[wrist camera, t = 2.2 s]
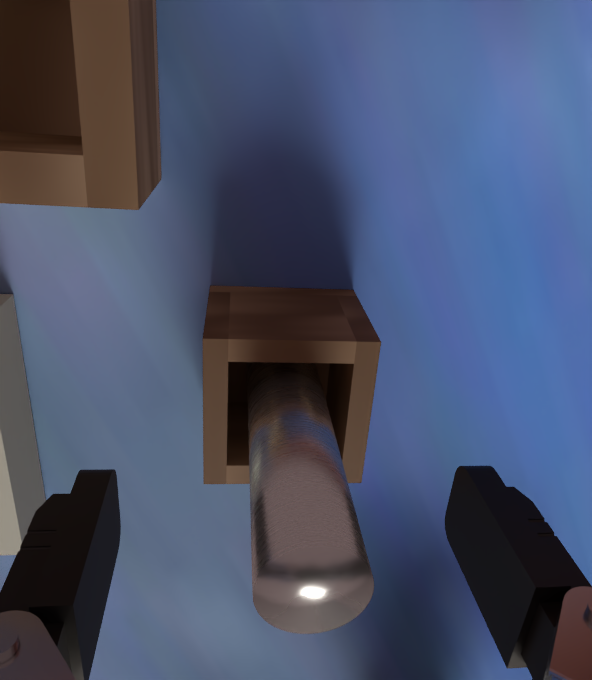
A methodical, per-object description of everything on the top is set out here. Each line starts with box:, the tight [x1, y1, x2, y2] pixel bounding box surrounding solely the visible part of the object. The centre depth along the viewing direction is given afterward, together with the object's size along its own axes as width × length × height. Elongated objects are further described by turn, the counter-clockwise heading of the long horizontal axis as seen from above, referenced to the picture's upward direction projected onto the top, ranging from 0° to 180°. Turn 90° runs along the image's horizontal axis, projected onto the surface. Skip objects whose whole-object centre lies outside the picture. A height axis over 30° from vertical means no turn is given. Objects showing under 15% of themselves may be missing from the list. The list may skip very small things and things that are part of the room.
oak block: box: [0, 0, 161, 210], centre depth 14 cm, size 6×6×4 cm
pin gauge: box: [247, 362, 374, 634], centre depth 16 cm, size 2×2×10 cm
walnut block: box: [203, 286, 381, 484], centre depth 19 cm, size 5×5×4 cm
